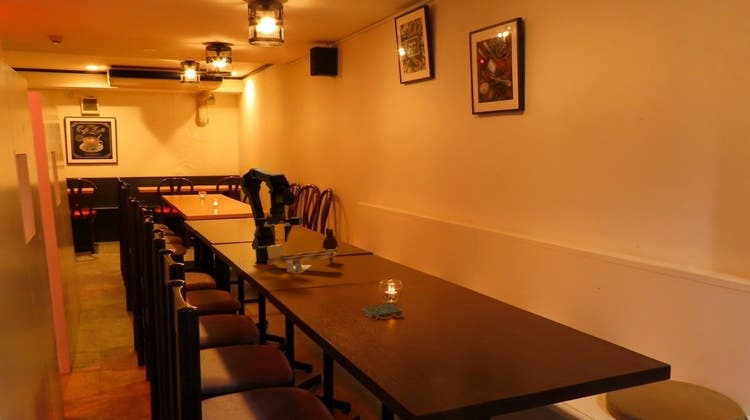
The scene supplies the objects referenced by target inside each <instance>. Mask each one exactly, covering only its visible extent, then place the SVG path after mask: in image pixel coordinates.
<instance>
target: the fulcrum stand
mask: <svg viewBox="0 0 750 420" xmlns="http://www.w3.org/2000/svg"><path fill="white" fill-rule="evenodd" d="M312 266H313V265H312V264H302V261H298V262H287V263H286V273H292V274H295V275H297V274H298V275H301V274H302V273H304V272H306V271H307V270H308V269H310V268H311V267H312Z"/></svg>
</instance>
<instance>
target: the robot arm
mask: <svg viewBox="0 0 750 420" xmlns="http://www.w3.org/2000/svg"><path fill="white" fill-rule="evenodd" d="M263 182H264V183H265V186H266V187H268V189H269V190H268V192H267V193H268V194H269V197H270V199H269V200H270V207H269V212H268V214H267V215H266V216H265V212H264V207H263V204H262V200H261V197H260V192H261V189H262V186H261V185H262V183H263ZM239 186H240V189H241V190H242V193H243V194H244V195H245V196H246V197H247V198H248V202H249V206H250V209H251V214H252V217H253V222H254V225H255V231H254V234H253V235H254V238H253V241H251V242H252V243H251V247H252V248H251V249H252V250H255V260H256V261H255V262H254V264H256V265H257V264H258V265H259V264H260V265H263V264H265V265H268V264H267V260H269V257H268V251H267V247H269V246H271V245H276V239H277V238H276V228H275V227H276V226H277V225H281V224H282V225H283V224H284V226H283V228H284V243H287V242H288V239H289V236H290V233H291V231H292V229H293V227H294V226H300V225H302V224H304V223H303V221H304V220H303V217H301V216H293V217H290V218H287V215H286V209H287V207H291V206H293V205H294V204H295V202H296V196H295V194H294V192H292V191H291V185H290V183H289V182H288V179H287V177H286V176H285V174H284V173H273V172H270V171H268V170H265V169H264V168H262V167H252V168H250V169H249V170H248V172H246V173H244V174H243V175H242V176H241V178H240V180H239Z"/></svg>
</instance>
